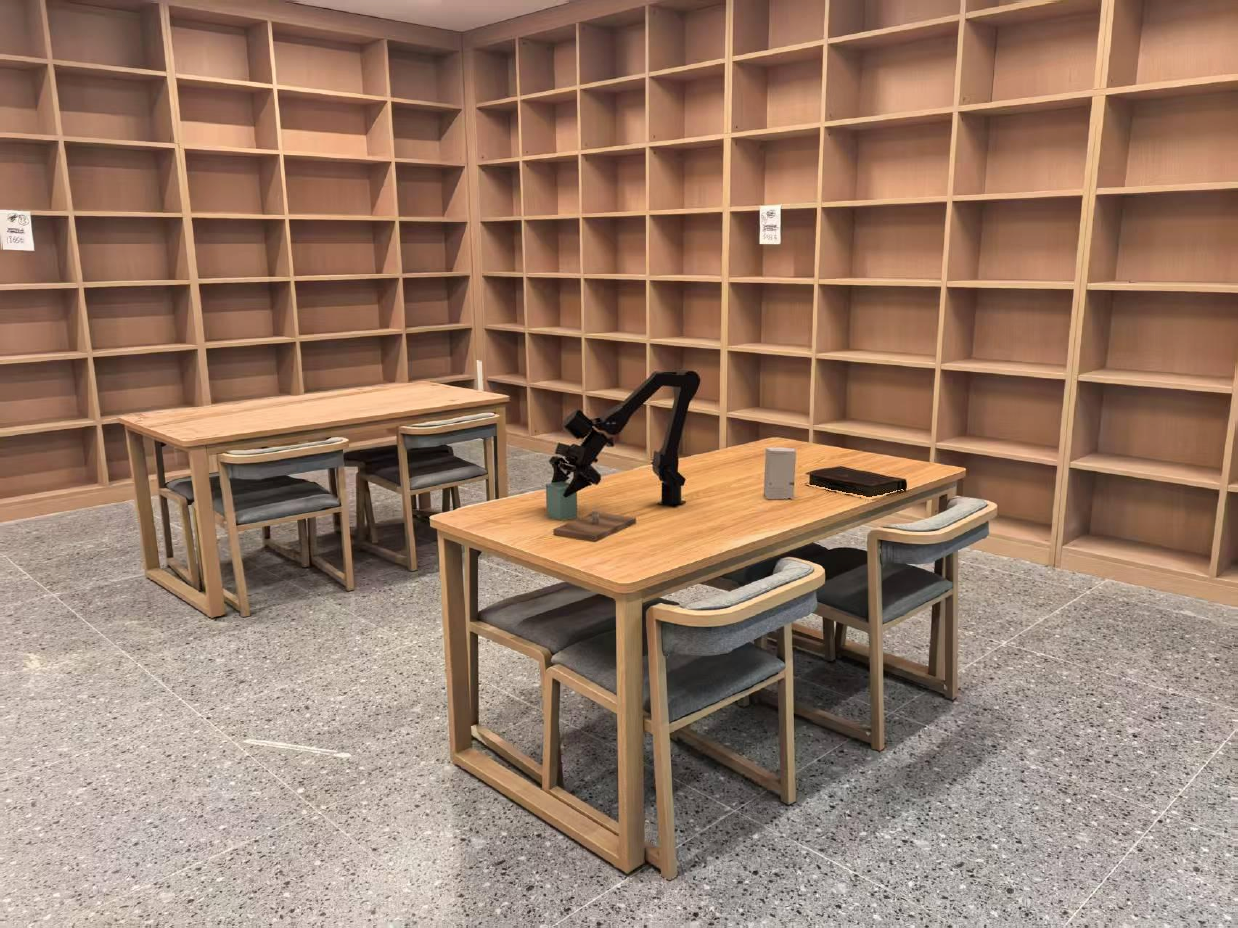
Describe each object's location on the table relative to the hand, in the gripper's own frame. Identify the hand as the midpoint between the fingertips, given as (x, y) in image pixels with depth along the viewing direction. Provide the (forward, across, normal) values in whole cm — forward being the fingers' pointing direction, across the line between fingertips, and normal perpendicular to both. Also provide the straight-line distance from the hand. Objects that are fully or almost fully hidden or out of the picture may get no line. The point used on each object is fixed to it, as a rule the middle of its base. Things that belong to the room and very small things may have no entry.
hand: (557, 494), depth 255 cm
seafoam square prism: (+4, 0, +6) cm, 7 cm away
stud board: (+4, +16, +6) cm, 18 cm away
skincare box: (-41, +22, +50) cm, 68 cm away
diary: (-59, +29, +69) cm, 95 cm away
